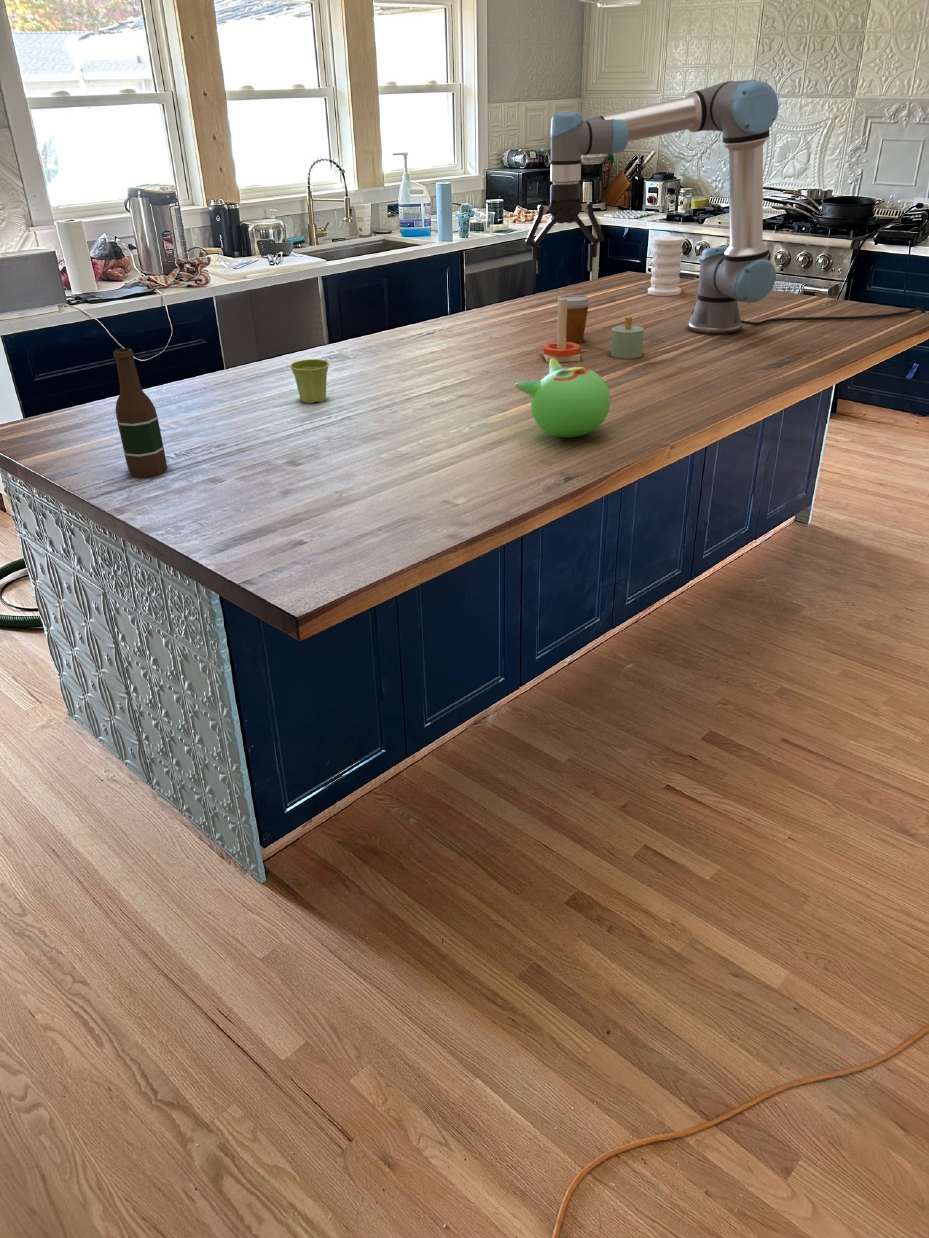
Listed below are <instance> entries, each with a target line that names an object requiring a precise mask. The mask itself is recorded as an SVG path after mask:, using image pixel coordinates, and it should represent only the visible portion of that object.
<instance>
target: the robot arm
mask: <svg viewBox="0 0 929 1238" xmlns="http://www.w3.org/2000/svg"><path fill="white" fill-rule="evenodd" d="M779 106H780V105H779V99H778V95H777V93H776V91H775V89H774V87H772V86H771V85H770V84H769V83H767V82H765V81H763V80H756V79H746V80H729V81H724V82H720V83H717V84H714V85H711V86H708V87H705V88H701V89H697V90H693V91H690V92H688V93H687V94H686V96H685V97H682V98H681V97H680V98H676V99H672V100H666V101H662V102H658V103H653V104H648V105H644V106H639V107H634V108H630V109H629V108H628V109H624V110H620V111H614V112H610V113H605V114H601V115H597V116H591V117H587V118H583V114H582V113H581V112H557V113H555V114H553V115H552V117H551V122H550V135H549V137H550V182H551V183H552V184H551V185H550V186H549V187H550V189H549V193H550V194H549V195H550V197H549V198H550V199H549V200H550V201H549V205H542V204H538V205H537V211H536V215H535V218H534V220H533V222H532V223H531V227H530V228H529V231H528V233H527V236H526V238H525V241H524V243H525V244H526V245H527V246H529V247H531V258H532V261H535V266H536V267H535V269H536V270H535V273H536V275H541V247H540V246H539V245H540V244H541V242H542V241H543V240H544V238H545V237H546V236H547V234H548V233H549V232H550V230H552V228H553V226H555V224H556V223H558V224H560V225H561V224H562V225H563V224H565V223H566V224H572V223H574V222H575V223H576V224H577V226H578V228H580V230H581V231H582V232H583V234H584V235H585V236H586V237H587V239H588V240H589V241H590V242H591V243H588V244H587V272H590V273H592V272H593V265H594V264H593V263H594V262H593V261H594V260H593V259H594V258H597V256H598V244H599V243H601V242H604V241H605V236H604V234H603V231H602V230H601V227H600V225H599V222H598V220H597V218H596V216H595V214H594V213H595V212H594V205H593V203H592V202H589V201H588V202H586V203H581V183H579V182H580V181H581V179H582V178H581V177H582V175H581V174H582V156H591V155H608V154H609V155H610V154H611V155H614V154H619V153H620V154H621V153H623V152H624V151H625V150H626V149H627V146H628V143H630V142H631V143H632V142H634V141H639V140H644V139H645V140H646V139H649V138H654V137H658V136H664V135H668V134H673V133H678V132H681V131H689V132H690V133H696V132H704V131H705V132H706V131H707V132H708V131H709V132H710V131H712V132H722V133H721V134H722V145H723V147H725V148H726V149H727V150H728V198H729V199H728V200H729V202H728V203H729V204H728V205H729V206H728V207H729V208H728V209H729V211H728V213H729V245H728V246H717V247H708V248H704V249H703V250H702V252H701V257H700V261H699V264H700V265H699V276H698V286H697V299H696V303H695V306H694V308H693V309H692V311H691V314H690V318H689V320H688V330H690V331H692V332H694V333H698V334H699V333H700V334H707V335H726V334H734V333H737V332H740V331H741V330H742V325H748V326H749V325H750V326H759V325H763V324H768V323H770V322H771V323H772V322H792V321H835V320H836V321H837V320H839V321H840V320H841V321H842V320H865V319H879V318H889V317H895V316H896V317H897V316H903V315H908V314H912V313H914V312H917V311H920V312H921V313H923V314H927V312H926V310H925V308H923V307H920V306H919V307H913V308H911V309H908V310H905V311H904V310H903V311H896V312H890V313H881V314H870V315H869V314H868V315H850V316H849V315H848V316H846V315H845V316H798V317H797V316H795V317H775V318H766V319H763V320H760V321H750V320H749V321H748V320H743V319H741V313H740V308H739V304H738V303H739V302H741V303H748V304H752V303H754V304H755V303H757V302H760V301H762V300H763V299H765V298H766V297H767V296H768V294H769V293H770V292H771V291H772V290H773V287H774V286H775V283H776V278H777V271H776V266H774V264H773V263H772V261H770V260H769V246H767V245H766V243H764V241H763V235H764V233H763V231H764V230H763V229H764V228H763V225H764V224H763V221H764V217H763V216H764V214H763V213H764V207H763V206H764V145H765V144H766V142H767V141H768V140H769V138H770V129H771V127H772V126H773V125H774V122H775V121H776V119H777V117H778V114H779ZM582 210H583V211H584V212H585V213H586V214H587V217H588V220H589V221H590V222H591V226H592V228H593V230H594V233H595V234H596V237H595V236H594V234H593V233H592V232H591V230H590V229H589V228H588V227H587V225H586V224H585V223H584V222H583V221H582V219H581V218H580V216H579V215H580V213H581V211H582ZM547 212H549V214H550V218H549V219H548V221H547V222H546V224H544V226H543V228H542V229H541V230H540V231H539V233H538V234H537V235H536V232H537V230H538V228H539V226H540V223H541V221H542V219H543V216H545V215H546V214H547ZM535 235H536V236H535ZM534 237H535V238H534Z"/></svg>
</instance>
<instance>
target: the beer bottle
mask: <svg viewBox="0 0 929 1238" xmlns="http://www.w3.org/2000/svg"><path fill="white" fill-rule="evenodd" d="M134 357H135V353H134V351H133V350H132V349H131V348H125V347H123V348H118V349H115V350H114V351H113V358H114V359H115V362H116V368H117V374H118V375H117V376H118V381H119V395H118V398H117V399H116V403H115V409H114V410H115V416H116V422H117V426H118V432H119V436H120V440H121V445H122V449H123V453H124V458H125V459H124V460H125V462H126V466H127V469H128V472H129V474H130V476H132V477H133V478H141V479H145V478H151V477H157V476H159V475H162V474H163V473H165V472H166V471H168V464H167V458H166V453H165V448H164V442H163V438H162V432H161V428H160V422H159V417H158V413H157V410H156V406H155V405H154V404H153V402H152V400H151V399H150V397H149V396H148V395H147V393H145V391H144V390H143V387H142V385H141V381H140V377H139V374H138V371H137V367H136V364H135V360H134Z"/></svg>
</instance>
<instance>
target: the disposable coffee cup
mask: <svg viewBox="0 0 929 1238" xmlns="http://www.w3.org/2000/svg"><path fill="white" fill-rule="evenodd" d="M559 298H567V325H566V342H572V343H576V344H579V343H582V342H584V337H585V331H586V323H587V317H588V313H589V306H590V304H591V301H590V298H589V296H587V295H583V294H567V295H566V294H565V295H560V296H559V297H558V298H557V300H558V299H559ZM556 304H557V306H558V301H556Z"/></svg>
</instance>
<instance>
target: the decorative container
mask: <svg viewBox="0 0 929 1238" xmlns="http://www.w3.org/2000/svg"><path fill="white" fill-rule="evenodd" d="M651 242H652V244H653V248H652V254H653V255H652V258H651V264H652V267H651V269H650V272H651V277H650V283H651V286H650V287H648V288H647V294H648V295H652V296H657V297H669V296H678V295H680V294H682V288H681V287H679V285H680V281H681V277H680V274H681V271H682V269H681V263H682V253H683V244H684V243H685V236H684V237H683V236H678V235H662V236H654V237H652V239H651Z"/></svg>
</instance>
